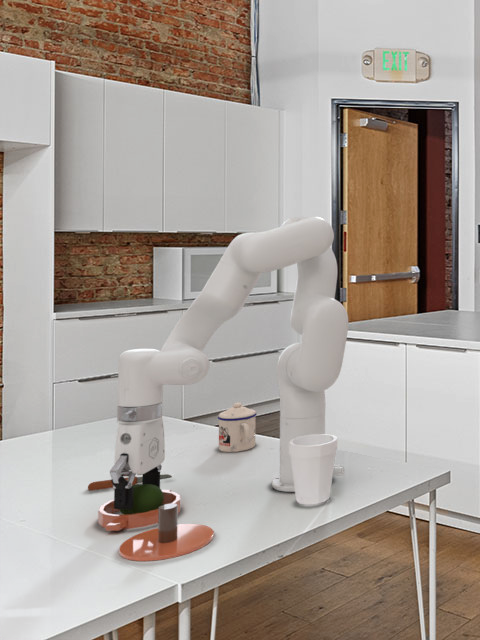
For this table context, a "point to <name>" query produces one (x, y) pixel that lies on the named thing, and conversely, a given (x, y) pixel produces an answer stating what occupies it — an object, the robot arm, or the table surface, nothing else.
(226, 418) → the teacup with lid
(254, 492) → the table surface
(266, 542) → the table surface
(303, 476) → the foam cup
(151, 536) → the lid
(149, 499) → the avocado
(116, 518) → the pot
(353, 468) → the table surface
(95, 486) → the kitchen knife
